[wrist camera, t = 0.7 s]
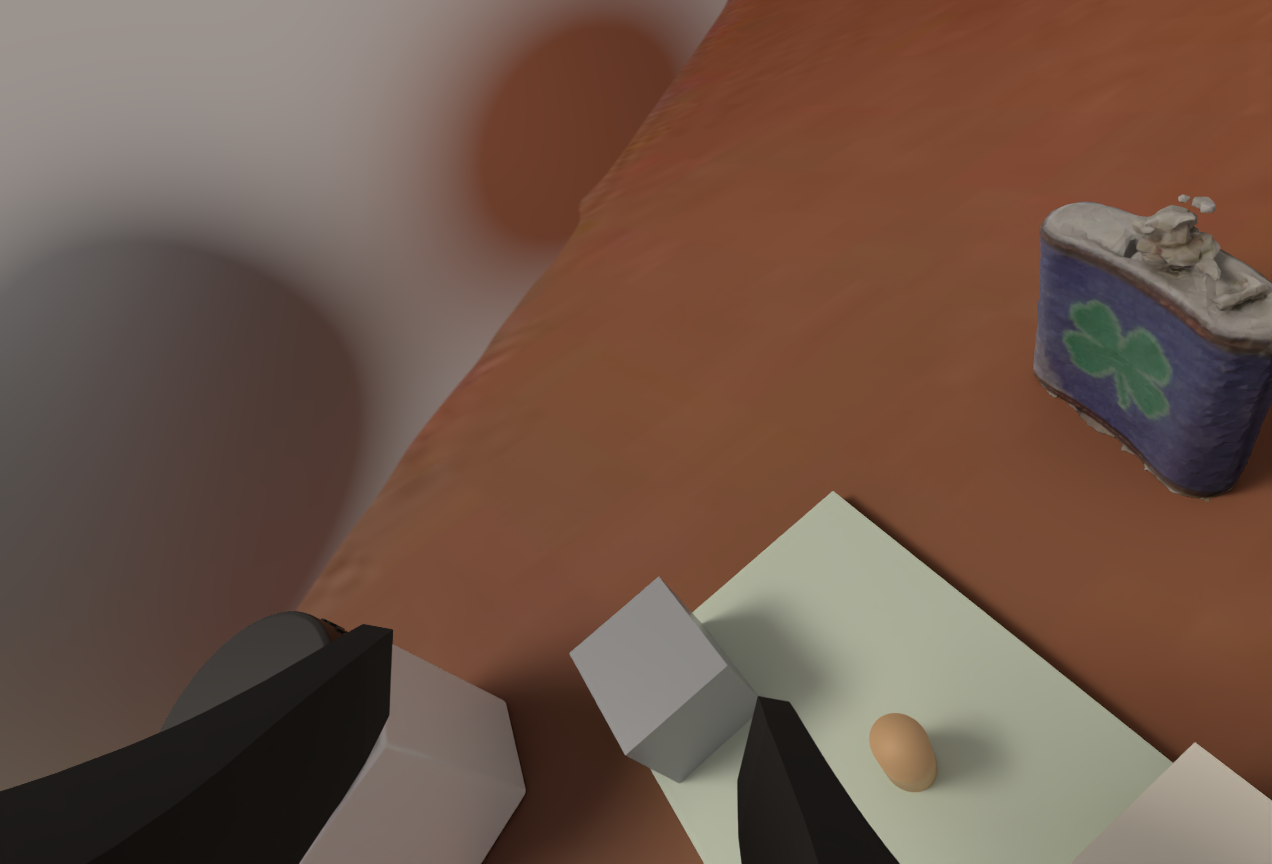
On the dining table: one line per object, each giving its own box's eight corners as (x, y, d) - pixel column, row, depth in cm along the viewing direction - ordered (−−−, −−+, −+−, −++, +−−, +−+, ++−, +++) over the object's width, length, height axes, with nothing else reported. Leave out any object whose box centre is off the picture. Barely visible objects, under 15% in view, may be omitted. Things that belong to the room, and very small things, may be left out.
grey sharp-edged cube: (766, 705, 25) (727, 665, 22) (678, 783, 25) (625, 755, 21) (701, 622, 28) (658, 576, 25) (623, 690, 28) (569, 653, 25)
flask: (1020, 372, 30) (1026, 181, 23) (1077, 342, 30) (1103, 138, 22) (1192, 514, 24) (1280, 312, 16) (1267, 477, 24) (1392, 254, 16)
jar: (546, 697, 31) (372, 599, 22) (507, 904, 26) (266, 880, 17) (406, 697, 34) (212, 613, 26) (349, 880, 29) (86, 850, 21)
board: (1396, 956, 16) (1479, 956, 13) (1003, 1367, 15) (1002, 1461, 12) (837, 501, 30) (819, 455, 27) (614, 695, 29) (572, 667, 26)
